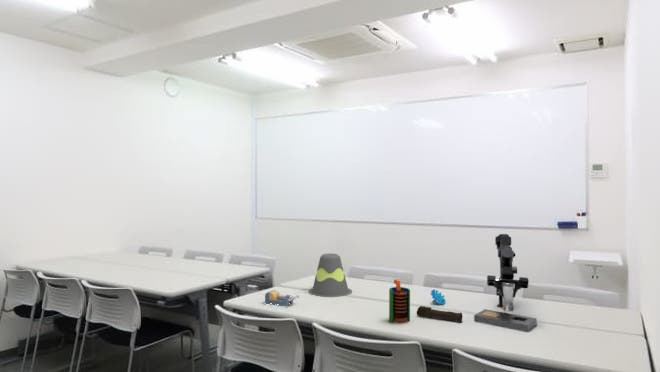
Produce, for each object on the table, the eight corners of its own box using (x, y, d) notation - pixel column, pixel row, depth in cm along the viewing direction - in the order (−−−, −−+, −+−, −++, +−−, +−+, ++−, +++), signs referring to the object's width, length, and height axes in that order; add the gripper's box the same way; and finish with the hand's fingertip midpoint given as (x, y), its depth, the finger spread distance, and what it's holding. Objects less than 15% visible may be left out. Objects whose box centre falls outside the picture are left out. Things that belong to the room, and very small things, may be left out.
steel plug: (505, 307, 211) (505, 281, 211) (515, 309, 207) (515, 282, 207) (500, 309, 207) (500, 282, 207) (510, 311, 204) (510, 284, 204)
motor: (395, 324, 207) (395, 283, 207) (385, 319, 215) (384, 279, 215) (412, 321, 211) (412, 280, 212) (401, 316, 219) (401, 277, 219)
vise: (263, 304, 245) (263, 292, 245) (273, 300, 254) (273, 289, 254) (290, 308, 237) (290, 296, 237) (299, 303, 246) (299, 292, 246)
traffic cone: (353, 297, 260) (352, 257, 261) (307, 297, 261) (306, 257, 261) (351, 286, 288) (351, 251, 288) (309, 287, 288) (309, 251, 289)
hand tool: (463, 321, 212) (463, 310, 212) (460, 323, 208) (460, 312, 208) (419, 314, 224) (419, 304, 224) (415, 317, 220) (415, 306, 220)
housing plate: (485, 314, 222) (485, 308, 222) (536, 324, 205) (536, 317, 205) (474, 321, 211) (474, 314, 211) (527, 332, 195) (527, 324, 195)
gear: (438, 303, 238) (429, 288, 244) (431, 309, 241) (422, 294, 247) (450, 303, 244) (441, 288, 251) (443, 309, 247) (434, 294, 254)
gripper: (487, 259, 214) (487, 286, 204) (527, 261, 208) (530, 289, 197) (486, 272, 221) (487, 298, 211) (526, 274, 215) (529, 301, 205)
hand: (508, 296), depth 206 cm, fingers closed on steel plug, 5 cm apart
